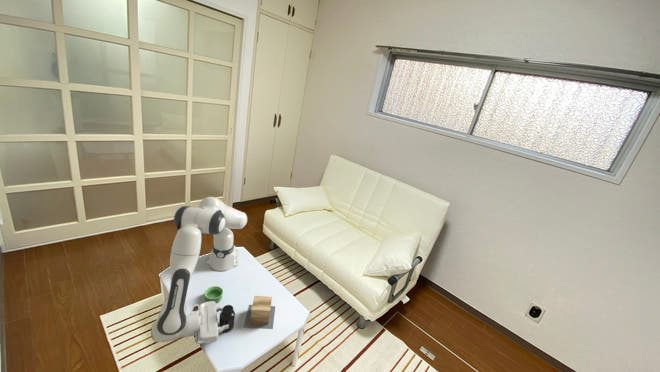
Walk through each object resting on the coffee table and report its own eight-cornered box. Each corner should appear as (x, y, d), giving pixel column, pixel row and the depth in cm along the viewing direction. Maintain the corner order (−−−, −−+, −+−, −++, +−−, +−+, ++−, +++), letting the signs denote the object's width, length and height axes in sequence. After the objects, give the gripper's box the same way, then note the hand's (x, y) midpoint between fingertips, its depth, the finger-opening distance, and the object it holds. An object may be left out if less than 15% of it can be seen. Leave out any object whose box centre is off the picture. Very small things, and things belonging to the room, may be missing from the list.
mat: (249, 305, 142) (249, 304, 142) (275, 306, 144) (275, 306, 144) (243, 328, 129) (243, 327, 129) (272, 329, 131) (272, 328, 131)
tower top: (253, 302, 138) (254, 295, 137) (271, 303, 140) (272, 296, 138) (250, 316, 130) (251, 309, 128) (269, 317, 131) (270, 311, 130)
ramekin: (203, 294, 143) (203, 288, 142) (221, 290, 148) (221, 284, 146) (205, 307, 136) (205, 300, 134) (223, 302, 141) (224, 296, 139)
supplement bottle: (219, 334, 124) (220, 316, 119) (218, 322, 129) (219, 304, 125) (234, 331, 126) (236, 313, 122) (233, 319, 132) (234, 301, 128)
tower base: (253, 308, 140) (253, 302, 138) (270, 309, 141) (271, 303, 140) (249, 323, 132) (250, 316, 130) (268, 324, 133) (269, 317, 131)
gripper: (194, 339, 110) (230, 331, 116) (194, 301, 126) (225, 296, 133) (194, 350, 112) (229, 341, 118) (194, 311, 129) (225, 305, 135)
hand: (227, 317), depth 126 cm, fingers open, 8 cm apart
